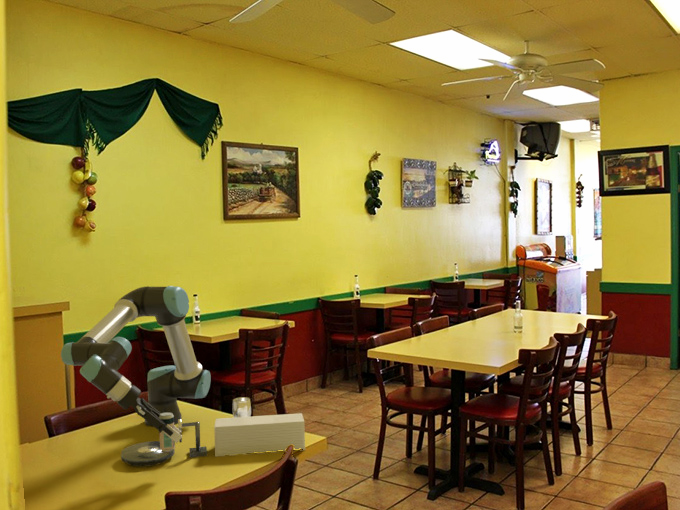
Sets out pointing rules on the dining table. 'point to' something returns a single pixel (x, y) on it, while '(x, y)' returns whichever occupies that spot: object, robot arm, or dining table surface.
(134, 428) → the dining table surface
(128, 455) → the turntable
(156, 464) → the turntable base
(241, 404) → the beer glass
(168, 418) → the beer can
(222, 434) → the white rectangular block
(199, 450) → the dial indicator
